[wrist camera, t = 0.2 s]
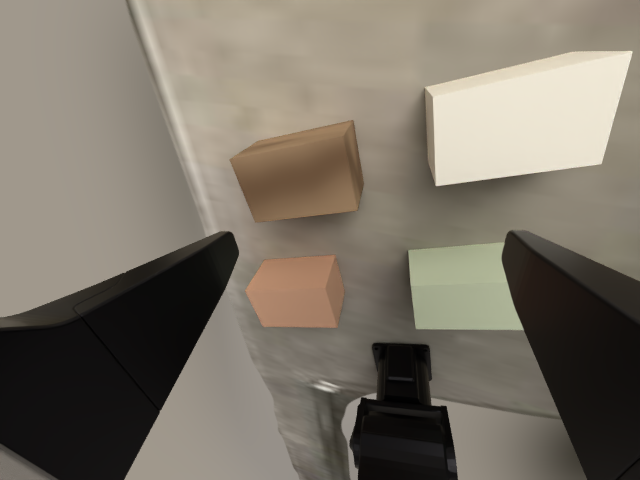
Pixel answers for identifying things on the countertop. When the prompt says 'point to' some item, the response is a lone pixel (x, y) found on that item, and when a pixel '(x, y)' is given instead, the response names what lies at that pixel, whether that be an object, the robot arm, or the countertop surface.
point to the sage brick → (461, 288)
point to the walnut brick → (302, 173)
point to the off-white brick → (524, 117)
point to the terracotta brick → (298, 292)
